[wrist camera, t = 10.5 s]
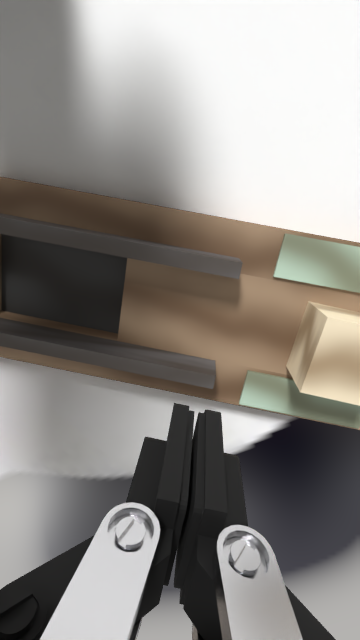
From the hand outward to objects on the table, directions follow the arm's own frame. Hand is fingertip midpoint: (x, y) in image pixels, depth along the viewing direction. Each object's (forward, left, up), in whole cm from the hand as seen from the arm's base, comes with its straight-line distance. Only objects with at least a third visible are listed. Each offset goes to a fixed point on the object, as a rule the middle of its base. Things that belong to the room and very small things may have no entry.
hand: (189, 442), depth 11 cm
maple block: (0, +11, -17) cm, 20 cm away
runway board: (0, -2, -19) cm, 19 cm away
